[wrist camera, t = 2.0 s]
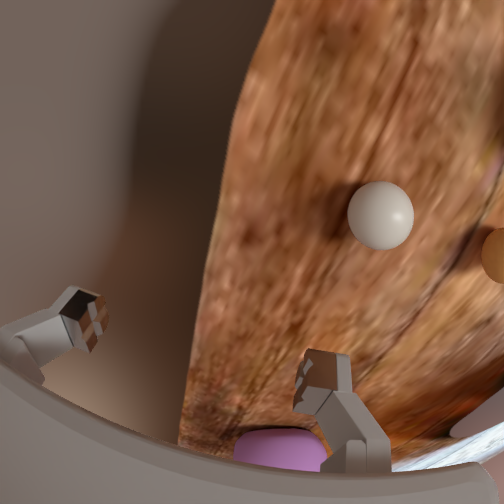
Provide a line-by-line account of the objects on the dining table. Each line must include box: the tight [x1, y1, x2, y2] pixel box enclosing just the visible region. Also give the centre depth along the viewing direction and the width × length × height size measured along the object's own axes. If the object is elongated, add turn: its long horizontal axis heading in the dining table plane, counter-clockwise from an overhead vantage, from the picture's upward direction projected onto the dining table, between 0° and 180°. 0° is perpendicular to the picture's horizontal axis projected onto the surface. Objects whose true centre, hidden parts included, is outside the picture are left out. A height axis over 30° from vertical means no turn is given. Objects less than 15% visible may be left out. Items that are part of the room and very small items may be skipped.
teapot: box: [233, 428, 327, 472], centre depth 48 cm, size 23×21×15 cm
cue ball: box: [348, 181, 414, 250], centre depth 22 cm, size 6×6×6 cm
